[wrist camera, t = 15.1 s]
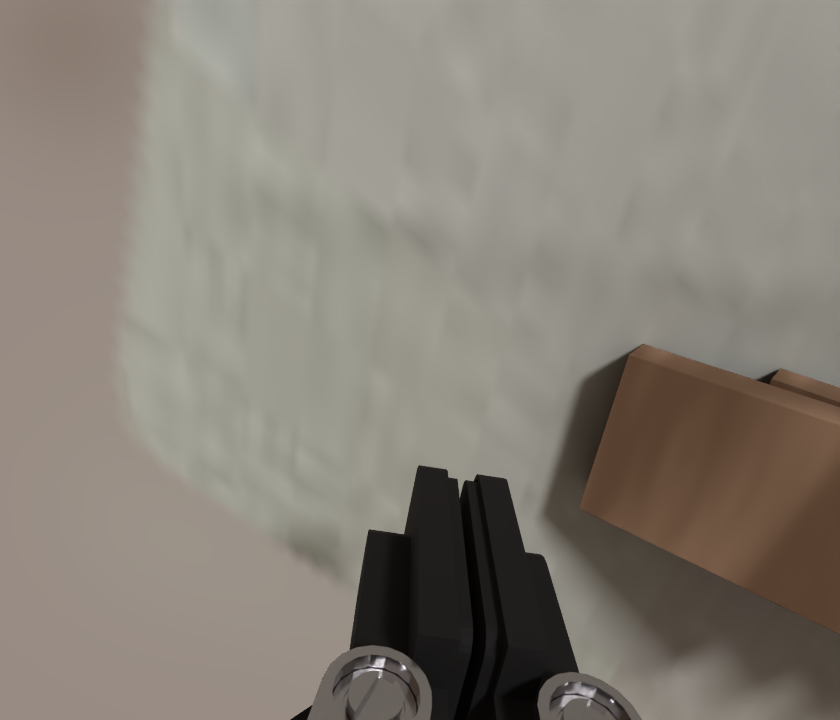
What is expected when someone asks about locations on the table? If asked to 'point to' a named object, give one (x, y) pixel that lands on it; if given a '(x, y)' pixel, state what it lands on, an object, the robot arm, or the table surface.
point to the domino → (726, 478)
